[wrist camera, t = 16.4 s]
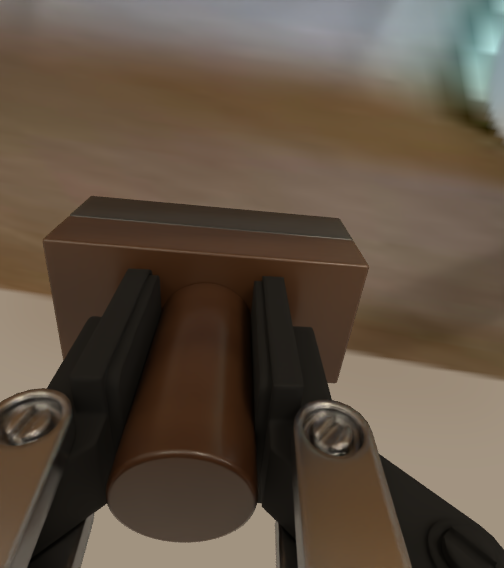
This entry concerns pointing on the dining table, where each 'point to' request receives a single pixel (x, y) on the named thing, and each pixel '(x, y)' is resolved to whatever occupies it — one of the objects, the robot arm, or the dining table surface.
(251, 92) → the dining table surface
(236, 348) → the wooden stamp
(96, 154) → the dining table surface
